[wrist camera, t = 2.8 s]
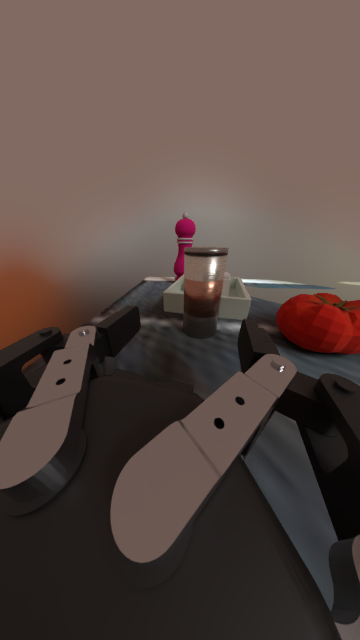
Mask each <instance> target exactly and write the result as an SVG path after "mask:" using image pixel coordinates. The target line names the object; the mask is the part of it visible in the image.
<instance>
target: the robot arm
mask: <svg viewBox="0 0 360 640" xmlns="http://www.w3.org/2000/svg"><path fill="white" fill-rule="evenodd" d="M140 326H141V323H140V316H139V309H138V307H136V306H126V307H125V308H123V309H122V310H120V311H119V312H116V313H114V314H113V315H111V316H110V317H108V318H107V319H105V320H104V321H102V322H101V323H99V324H98V325H96V326H95V327H94V326H84V327H80V328H77V329H75V330H74V331H72V332H71V334H62V333H61V331H60V329H59V328H57V327H50V328H45V329H42V330H39V331H37V332H35V333H33V334H31V335H29V336H27V337H25V338H23V339H21V340H19V341H18V342H16V343H14V344H12V345H10V346H8V347H6V348H4V349H2V350H0V640H360V386H358V385H357V384H355V383H354V382H352V381H350V380H348V379H346V378H344V377H341V376H338V375H335V374H328V373H327V374H323V375H321V377H320V378H319V380H318V379H315V378H312V377H310V376H307V375H304V374H302V373H299V372H297V370H296V367H295V366H294V364H293V363H292V362H290V361H289V360H288V359H286V358H284V357H282V356H280V354H279V352H278V350H277V348H276V346H275V344H274V343H273V340H272V339H271V337H270V335H269V333H268V332H267V331H266V330H264V329H263V328H259V327H258V325H257V323H256V321H255V320H249V319H243V321H242V324H241V328H240V333H239V337H238V352H239V358H240V365H241V371H239V372H237V373H236V374H235V375H234V376H233V377H231V378H230V379H229V380H228V381H227V382H226V383H225V384H223V385H222V386H221V387H220V388H219V389H218V390H216V391H215V392H214V393H213V394H212V395H211V396H210V397H208V398H207V399H206V400H203V399H202V398H201V397H199V396H198V395H196V394H194V393H193V385H188V384H184V383H179V382H175V381H149V380H147V379H145V378H143V377H141V376H140V375H138V374H136V373H133V372H129V371H124V370H120V369H116V371H115V372H114V373H113V374H112V375H106V359H105V357H106V356H110V357H115V356H116V355H117V354H118V353H119V352H120V351H121V350H122V348H123V347H124V346H125V345H126V344H127V343H128V342H129V341H130V340H131V339H132V338H133V337H134V336H135V334H136V333H137V332H138V331H139V330H140ZM38 354H41V355H42V357H43V359H44V361H45V362H46V363H45V364H44V365H43V366H41V367H40V368H39V369H37V370H36V371H35V372H33V373H32V374H31V375H29V376H28V377H26V378H25V376H24V375H23V374H22V372H21V369H22V366H23V365H24V364H25V363H26V362H28V361H29V360H31V359H32V358H34V357H35V356H37V355H38ZM275 411H277V412H279V413H281V414H283V415H285V416H287V417H289V418H291V419H293V420H295V421H296V423H297V425H298V428H299V431H300V434H301V437H302V440H303V442H304V445H305V448H306V451H307V454H308V456H309V459H310V462H311V465H312V468H313V470H314V473H315V476H316V479H317V482H318V485H319V487H320V490H321V493H322V496H323V499H324V501H325V504H326V507H327V510H328V513H329V515H330V518H331V521H332V524H333V527H334V530H335V532H336V535H337V538H338V541H337V542H335V543H334V544H332V546H331V547H330V551H329V567H330V572H331V577H332V581H333V588H334V603H333V607H332V610H331V612H330V610H329V608H328V606H327V604H326V602H325V600H324V598H323V596H322V594H321V592H320V590H319V588H318V586H317V584H316V582H315V581H314V579H313V577H312V575H311V574H310V572H309V570H308V569H307V567H306V565H305V563H304V562H303V560H302V558H301V557H300V555H299V553H298V552H297V550H296V548H295V547H294V545H293V543H292V542H291V540H290V538H289V536H288V535H287V533H286V531H285V530H284V528H283V526H282V525H281V523H280V521H279V520H278V518H277V516H276V515H275V513H274V511H273V510H272V508H271V506H270V504H269V503H268V501H267V499H266V498H265V496H264V494H263V493H262V491H261V489H260V488H259V486H258V484H257V483H256V481H255V479H254V477H253V476H252V474H251V472H250V471H249V469H248V467H247V466H246V464H245V462H244V459H245V458H246V456H247V455H248V453H249V452H250V450H251V448H252V447H253V445H254V443H255V442H256V440H257V438H258V437H259V435H260V434H261V432H262V431H263V429H264V428H265V426H266V425H267V423H268V422H269V420H270V418H271V417H272V415H273V414H274V412H275Z"/></svg>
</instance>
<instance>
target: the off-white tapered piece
mask: <svg viewBox="0 0 360 640" xmlns="http://www.w3.org/2000/svg"><path fill="white" fill-rule="evenodd" d="M230 283H231V277H230V275H229V272H225V273H224V281H223V288H222V295H221V296H228V295H229V289H230Z"/></svg>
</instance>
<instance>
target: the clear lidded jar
mask: <svg viewBox="0 0 360 640" xmlns="http://www.w3.org/2000/svg"><path fill="white" fill-rule="evenodd" d="M227 255H228V248H221V247H186V248H184V308H183V310H184V317H183V330H184V332H185V333H186V334H187V335H189V336H191V337H194V338H200V339H203V338H209V337H212V336H213V335H215V333H216V329H217V322H218V315H219V309H220V302H221V295H222V288H223V281H224V273H225V266H226V258H227Z"/></svg>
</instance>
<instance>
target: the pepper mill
mask: <svg viewBox="0 0 360 640" xmlns="http://www.w3.org/2000/svg"><path fill="white" fill-rule="evenodd" d="M188 217H189V215H188V213H187V212H184V213H183V219H181V220H179V221H178V222H177V224H176V227H175V232H176V234H177V236H178V238H177V240H178V242H177V243H178V247H179V250H178V251H179V252H178V256H177V259H176V262H175V265H174V272H175V274H176V275H177V277H176V278H175V282H176V281H177V280H178V279H179V278H180V277H181V276H182V275H183V274H184V248H186V247H192V243H193V238H192V237H193V235H194V234H195V224H194V222H193V221H192V220H190V219H188Z"/></svg>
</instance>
